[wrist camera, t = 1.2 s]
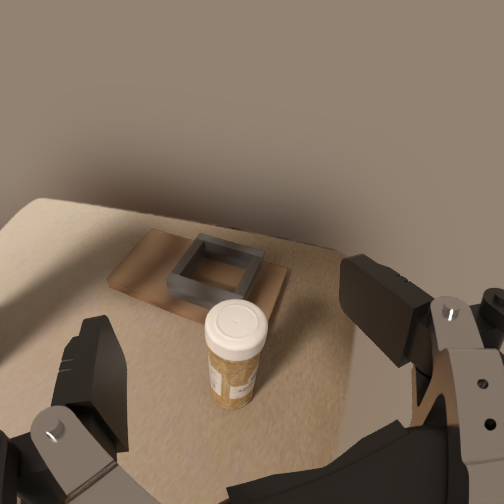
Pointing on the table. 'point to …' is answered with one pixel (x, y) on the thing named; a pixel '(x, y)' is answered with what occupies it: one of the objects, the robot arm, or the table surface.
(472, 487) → the robot arm
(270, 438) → the table surface
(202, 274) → the board
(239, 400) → the sprinkles bottle
